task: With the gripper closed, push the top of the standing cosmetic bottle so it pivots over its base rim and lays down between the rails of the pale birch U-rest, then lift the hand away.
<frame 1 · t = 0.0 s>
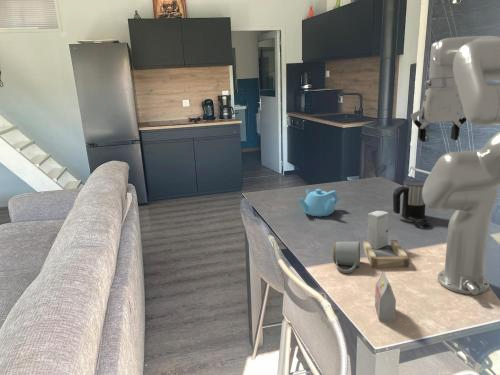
hand: (438, 140, 121), 37 cm above the table, tool pointing down, fingers open, 9 cm apart
ceramic mug: (347, 266, 121), on the table
tea bag: (384, 314, 96), on the table
rest: (384, 257, 125), on the table
teapot: (318, 213, 171), on the table
black and silver appliance: (416, 220, 155), on the table
skincare box: (377, 246, 134), on the table
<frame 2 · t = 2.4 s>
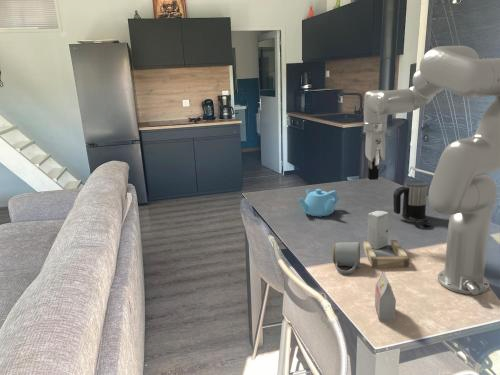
hand: (373, 178, 137), 22 cm above the table, tool pointing down, fingers closed
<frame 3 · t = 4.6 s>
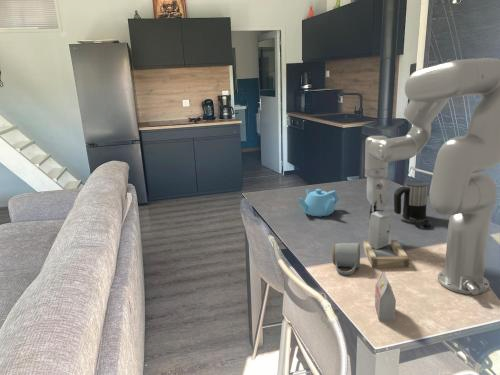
hand: (374, 221, 137), 7 cm above the table, tool pointing down, fingers closed
skincare box: (377, 245, 134), on the table, touching gripper
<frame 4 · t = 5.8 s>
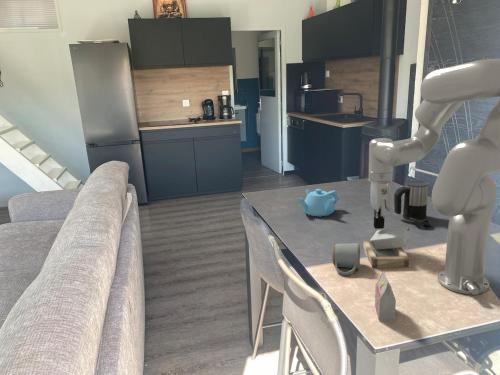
hand: (378, 227, 132), 7 cm above the table, tool pointing down, fingers closed
skincare box: (375, 239, 133), point 3 cm above the table, touching rest
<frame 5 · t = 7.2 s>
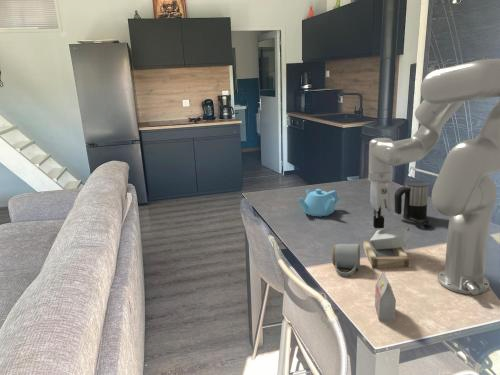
hand: (378, 227, 132), 7 cm above the table, tool pointing down, fingers closed
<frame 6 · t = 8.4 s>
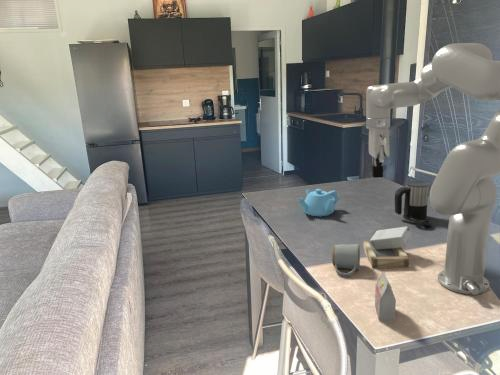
hand: (377, 176, 132), 24 cm above the table, tool pointing down, fingers closed
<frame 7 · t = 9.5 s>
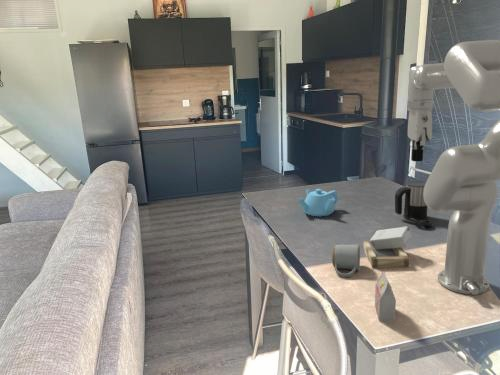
hand: (416, 160, 129), 29 cm above the table, tool pointing down, fingers closed
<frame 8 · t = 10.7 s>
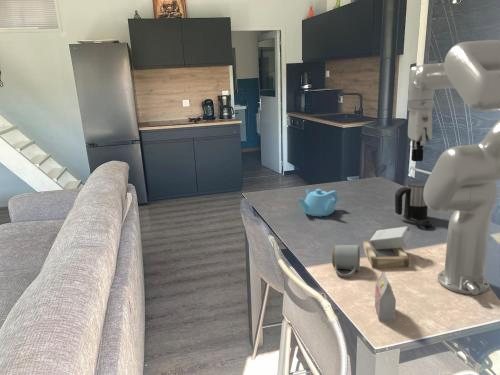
hand: (416, 160, 129), 29 cm above the table, tool pointing down, fingers closed
at the end: skincare box tilted 70°; skincare box inside the target area on the rest (7.0 cm from its centre), point 2.8 cm above the rest's base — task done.
